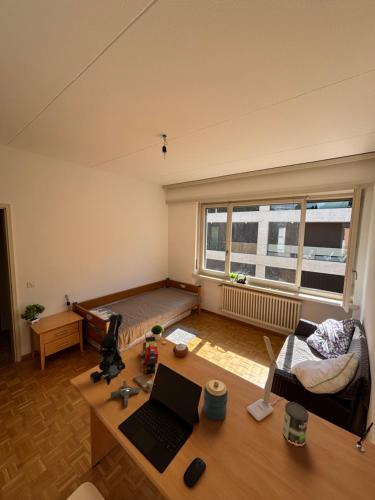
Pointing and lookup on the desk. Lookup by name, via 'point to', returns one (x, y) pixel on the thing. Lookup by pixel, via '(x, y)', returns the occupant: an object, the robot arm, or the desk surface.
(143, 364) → the toy soldier
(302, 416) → the coffee can
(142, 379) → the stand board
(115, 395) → the capstan
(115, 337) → the robot arm
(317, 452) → the desk surface
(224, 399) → the canister
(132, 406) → the desk surface
